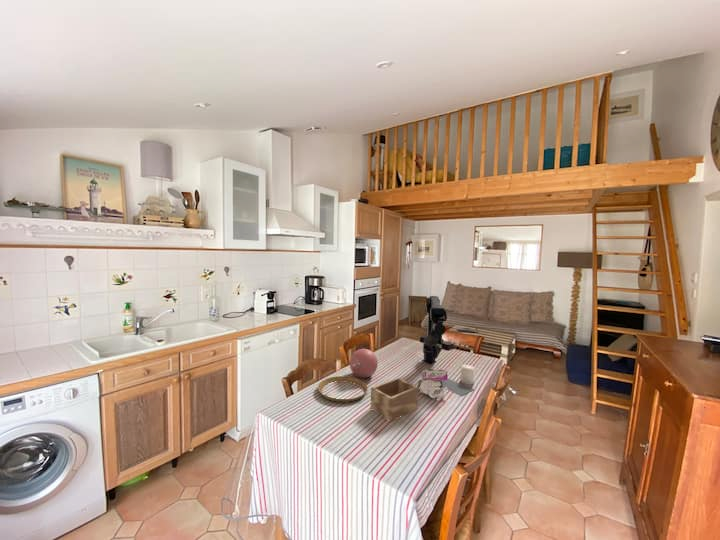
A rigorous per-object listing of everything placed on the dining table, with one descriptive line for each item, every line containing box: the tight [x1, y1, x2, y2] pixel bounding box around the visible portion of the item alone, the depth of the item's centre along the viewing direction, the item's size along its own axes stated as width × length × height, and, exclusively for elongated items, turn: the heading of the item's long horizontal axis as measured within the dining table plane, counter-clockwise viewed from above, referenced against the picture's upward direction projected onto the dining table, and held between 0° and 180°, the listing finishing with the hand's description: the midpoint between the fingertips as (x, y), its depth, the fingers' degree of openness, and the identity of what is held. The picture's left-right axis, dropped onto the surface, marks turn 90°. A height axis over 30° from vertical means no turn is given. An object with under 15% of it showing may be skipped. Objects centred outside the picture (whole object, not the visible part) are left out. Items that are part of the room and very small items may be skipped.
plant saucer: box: [317, 375, 368, 403], centre depth 146 cm, size 24×24×3 cm
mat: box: [436, 378, 475, 397], centre depth 154 cm, size 17×16×1 cm
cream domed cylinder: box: [459, 364, 476, 385], centre depth 162 cm, size 7×7×8 cm
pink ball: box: [349, 348, 379, 379], centre depth 162 cm, size 15×20×15 cm
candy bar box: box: [421, 369, 449, 382], centre depth 155 cm, size 11×5×16 cm
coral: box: [418, 379, 448, 402], centre depth 145 cm, size 12×7×12 cm
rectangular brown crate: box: [370, 377, 419, 422], centre depth 131 cm, size 12×17×10 cm
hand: (435, 358), depth 161 cm, fingers closed
